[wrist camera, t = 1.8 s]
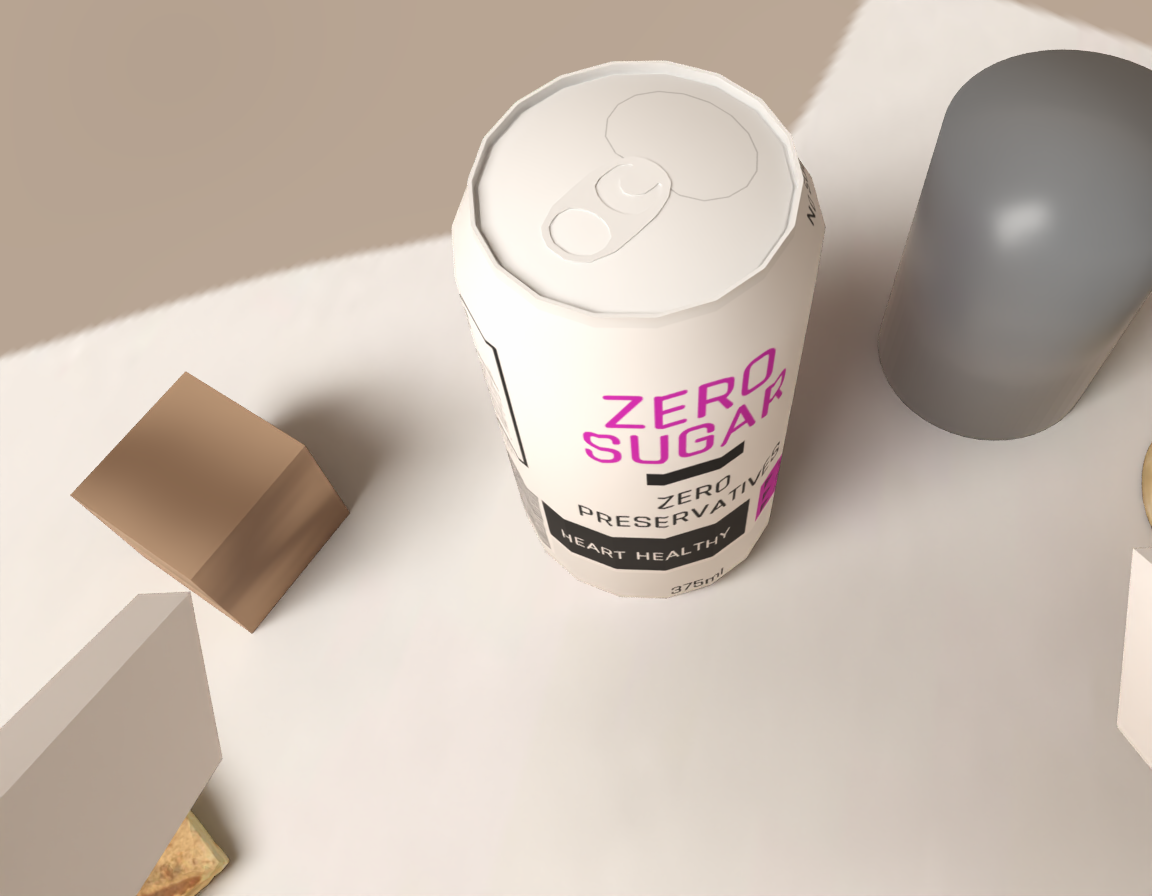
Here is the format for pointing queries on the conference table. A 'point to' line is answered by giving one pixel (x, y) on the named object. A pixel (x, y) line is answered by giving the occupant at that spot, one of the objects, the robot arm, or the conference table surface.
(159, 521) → the walnut block
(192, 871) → the shard
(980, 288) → the grey domed cylinder
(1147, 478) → the hand bell
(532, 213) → the supplement can
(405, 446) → the conference table surface
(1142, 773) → the conference table surface
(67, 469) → the conference table surface
